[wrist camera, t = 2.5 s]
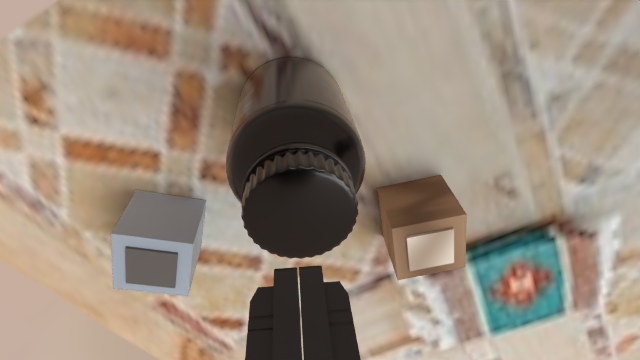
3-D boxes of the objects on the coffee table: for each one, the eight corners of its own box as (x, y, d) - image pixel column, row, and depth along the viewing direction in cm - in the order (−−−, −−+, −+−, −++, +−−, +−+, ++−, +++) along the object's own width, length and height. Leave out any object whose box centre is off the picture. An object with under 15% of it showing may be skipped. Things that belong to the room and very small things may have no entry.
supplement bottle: (277, 167, 28) (272, 297, 18) (218, 89, 25) (172, 196, 15) (361, 121, 27) (407, 235, 16) (311, 32, 23) (331, 107, 13)
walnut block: (440, 174, 30) (467, 216, 25) (441, 223, 32) (466, 269, 28) (376, 187, 30) (392, 231, 25) (383, 235, 32) (398, 282, 28)
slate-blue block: (206, 199, 29) (192, 246, 25) (200, 248, 32) (187, 298, 27) (136, 189, 28) (109, 235, 24) (136, 240, 31) (112, 290, 26)
